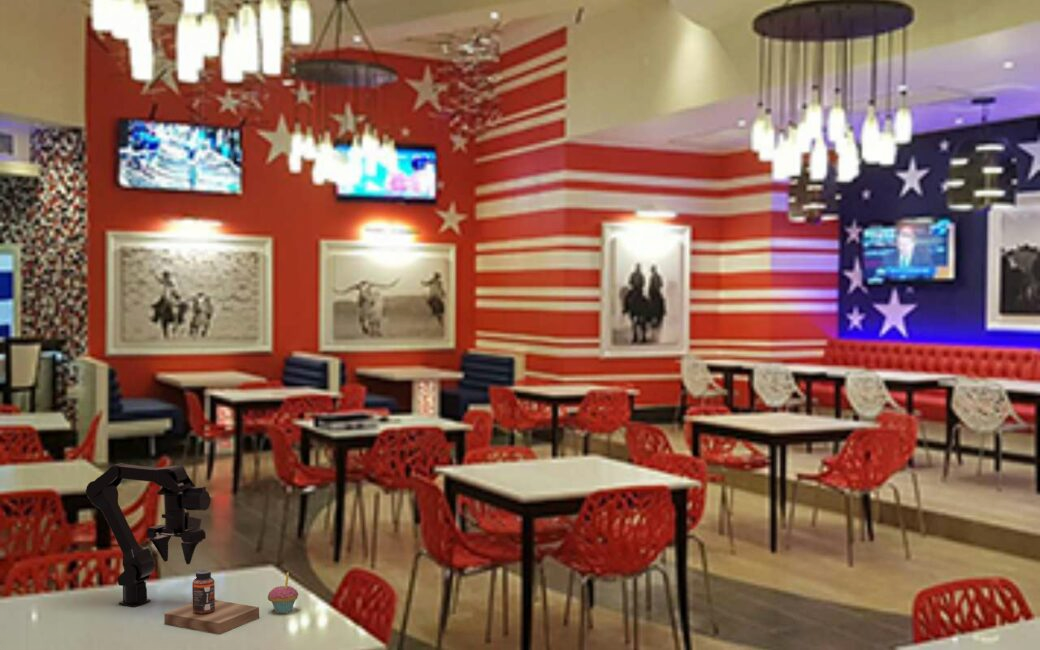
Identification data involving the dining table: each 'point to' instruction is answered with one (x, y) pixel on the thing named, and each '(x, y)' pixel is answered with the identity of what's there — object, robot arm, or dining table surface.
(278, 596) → the cupcake
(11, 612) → the dining table surface
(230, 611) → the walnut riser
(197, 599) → the supplement bottle
